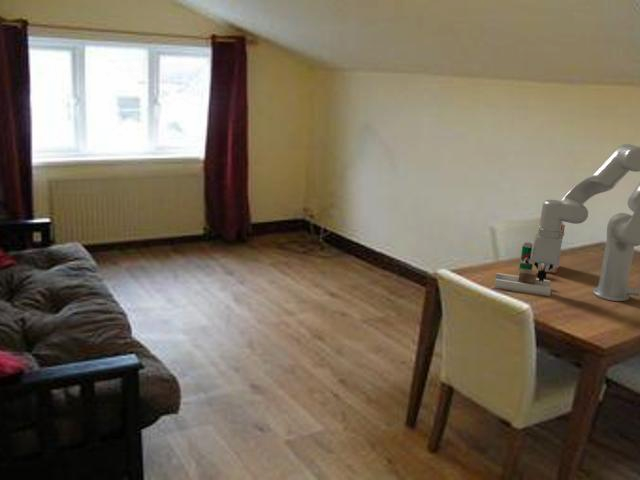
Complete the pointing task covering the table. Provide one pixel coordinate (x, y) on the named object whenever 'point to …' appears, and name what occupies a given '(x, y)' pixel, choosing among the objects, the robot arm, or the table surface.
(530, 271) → the walnut block
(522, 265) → the soda can
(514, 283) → the chute
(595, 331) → the table surface
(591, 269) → the table surface
